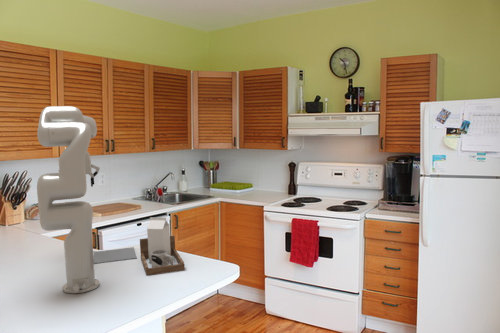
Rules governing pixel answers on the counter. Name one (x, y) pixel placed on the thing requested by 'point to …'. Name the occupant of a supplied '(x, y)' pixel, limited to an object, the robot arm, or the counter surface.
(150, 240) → the milk carton
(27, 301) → the counter surface
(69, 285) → the robot arm
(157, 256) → the mug
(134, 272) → the counter surface
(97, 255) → the slate mat
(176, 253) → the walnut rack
